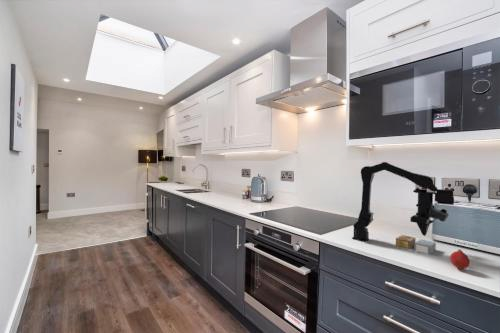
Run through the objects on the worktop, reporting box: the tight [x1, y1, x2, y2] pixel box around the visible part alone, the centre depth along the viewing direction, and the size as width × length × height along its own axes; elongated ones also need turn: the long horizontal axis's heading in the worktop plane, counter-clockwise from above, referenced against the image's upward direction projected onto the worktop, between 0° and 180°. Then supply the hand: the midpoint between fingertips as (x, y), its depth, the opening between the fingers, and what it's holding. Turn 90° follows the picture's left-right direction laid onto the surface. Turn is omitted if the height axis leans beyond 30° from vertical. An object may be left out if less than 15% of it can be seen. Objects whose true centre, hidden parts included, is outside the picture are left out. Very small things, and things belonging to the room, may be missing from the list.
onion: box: [449, 249, 471, 271], centre depth 94 cm, size 6×6×8 cm
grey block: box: [413, 239, 437, 255], centre depth 114 cm, size 6×4×9 cm
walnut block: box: [395, 234, 416, 250], centre depth 121 cm, size 6×4×9 cm
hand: (424, 235), depth 113 cm, fingers closed
